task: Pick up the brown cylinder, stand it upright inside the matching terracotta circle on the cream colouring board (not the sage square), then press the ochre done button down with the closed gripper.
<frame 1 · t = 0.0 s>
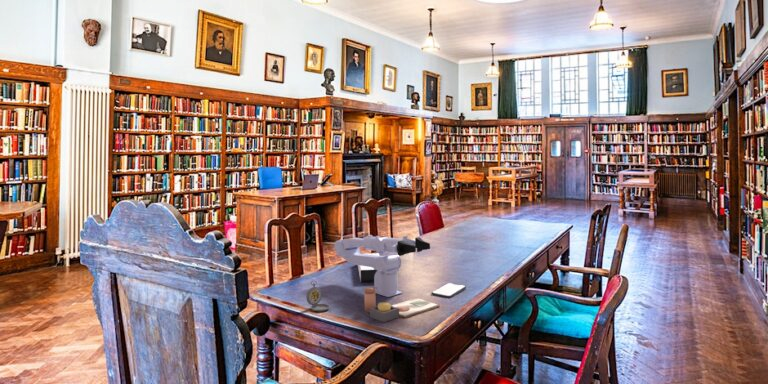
hand: (422, 247, 166), 22 cm above the table, tool horizontal, fingers open, 7 cm apart
colouring board: (411, 308, 164), on the table
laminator: (369, 274, 215), on the table
button base: (384, 316, 155), on the table
brown cylinder: (370, 309, 163), on the table
phone case: (448, 293, 184), on the table
done button: (384, 308, 155), point 3 cm above the table, slide at 0.0 cm
pocket watch: (318, 309, 165), on the table
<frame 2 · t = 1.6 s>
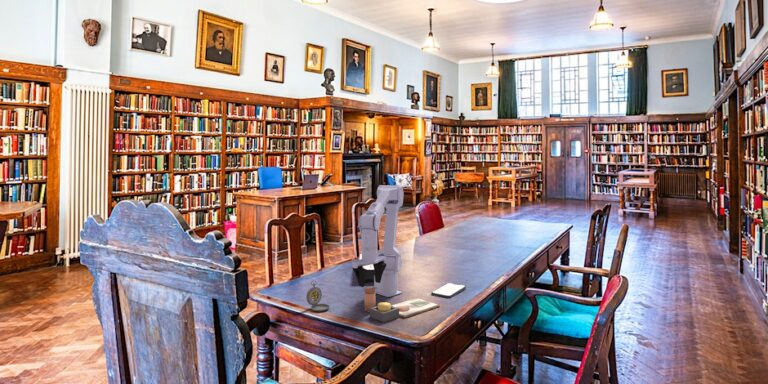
hand: (369, 284, 162), 9 cm above the table, tool pointing down, fingers open, 7 cm apart
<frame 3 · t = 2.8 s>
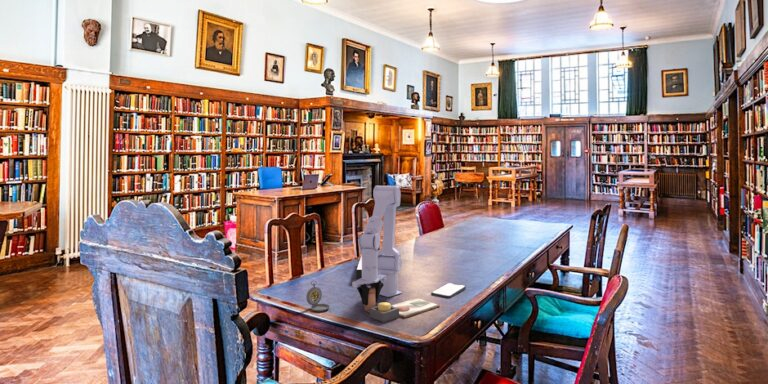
hand: (370, 303, 163), 2 cm above the table, tool pointing down, fingers closed on brown cylinder, 4 cm apart
brown cylinder: (370, 309, 163), on the table, touching gripper
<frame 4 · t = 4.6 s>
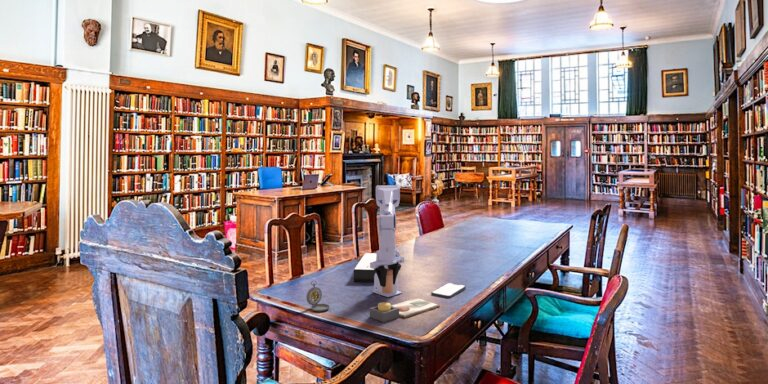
hand: (387, 285, 161), 9 cm above the table, tool pointing down, fingers closed on brown cylinder, 4 cm apart
brown cylinder: (387, 291, 161), point 7 cm above the table, touching gripper
when the fingers open (4 cm above the table, at t = 6.3 s): brown cylinder drops 1 cm, resting on colouring board.
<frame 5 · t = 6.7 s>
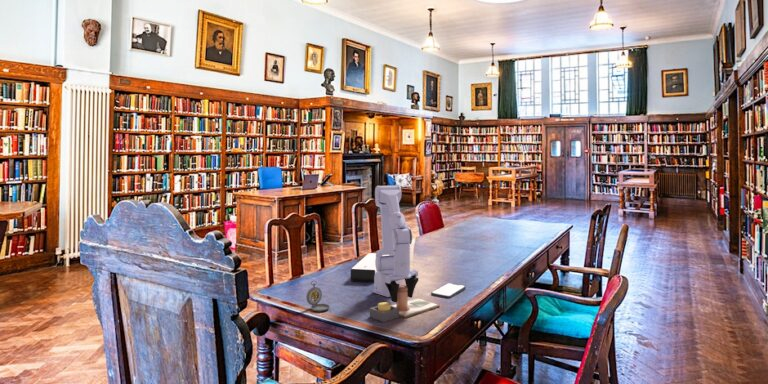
hand: (402, 299, 161), 4 cm above the table, tool pointing down, fingers open, 7 cm apart
brown cylinder: (401, 308, 161), point 1 cm above the table, touching colouring board
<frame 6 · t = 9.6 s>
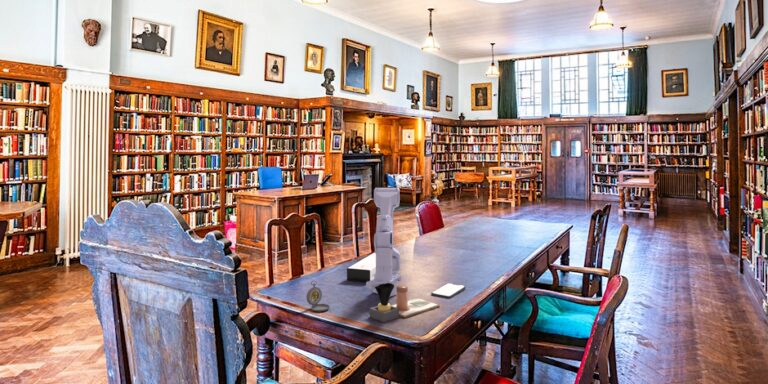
hand: (384, 304, 155), 4 cm above the table, tool pointing down, fingers closed, pressing on done button
done button: (384, 308, 155), point 3 cm above the table, slide at 0.2 cm, touching gripper
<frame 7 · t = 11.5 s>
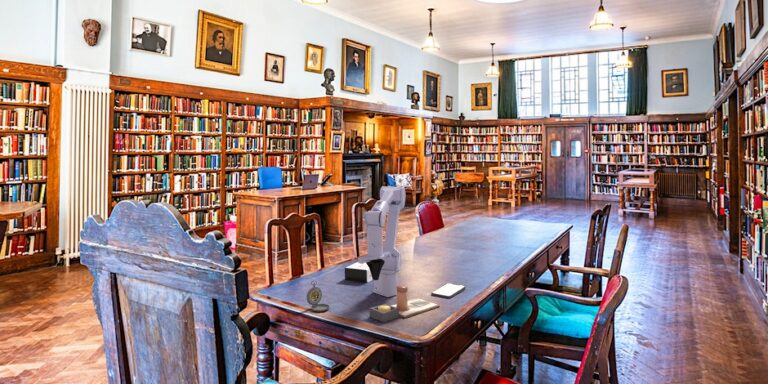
hand: (375, 279, 165), 10 cm above the table, tool pointing down, fingers closed
done button: (384, 311, 155), point 2 cm above the table, slide at 1.2 cm
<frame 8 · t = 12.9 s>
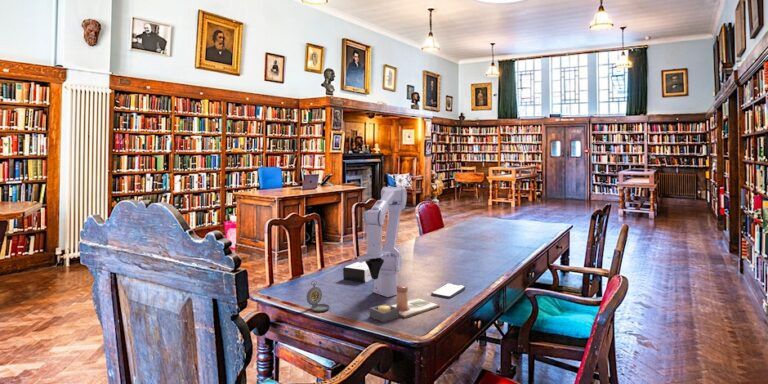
hand: (374, 278, 166), 10 cm above the table, tool pointing down, fingers closed
at the end: brown cylinder 0.1 cm from the target spot, point 0.9 cm above the table; brown cylinder tilted 1°; done button slide at 1.2 cm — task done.
